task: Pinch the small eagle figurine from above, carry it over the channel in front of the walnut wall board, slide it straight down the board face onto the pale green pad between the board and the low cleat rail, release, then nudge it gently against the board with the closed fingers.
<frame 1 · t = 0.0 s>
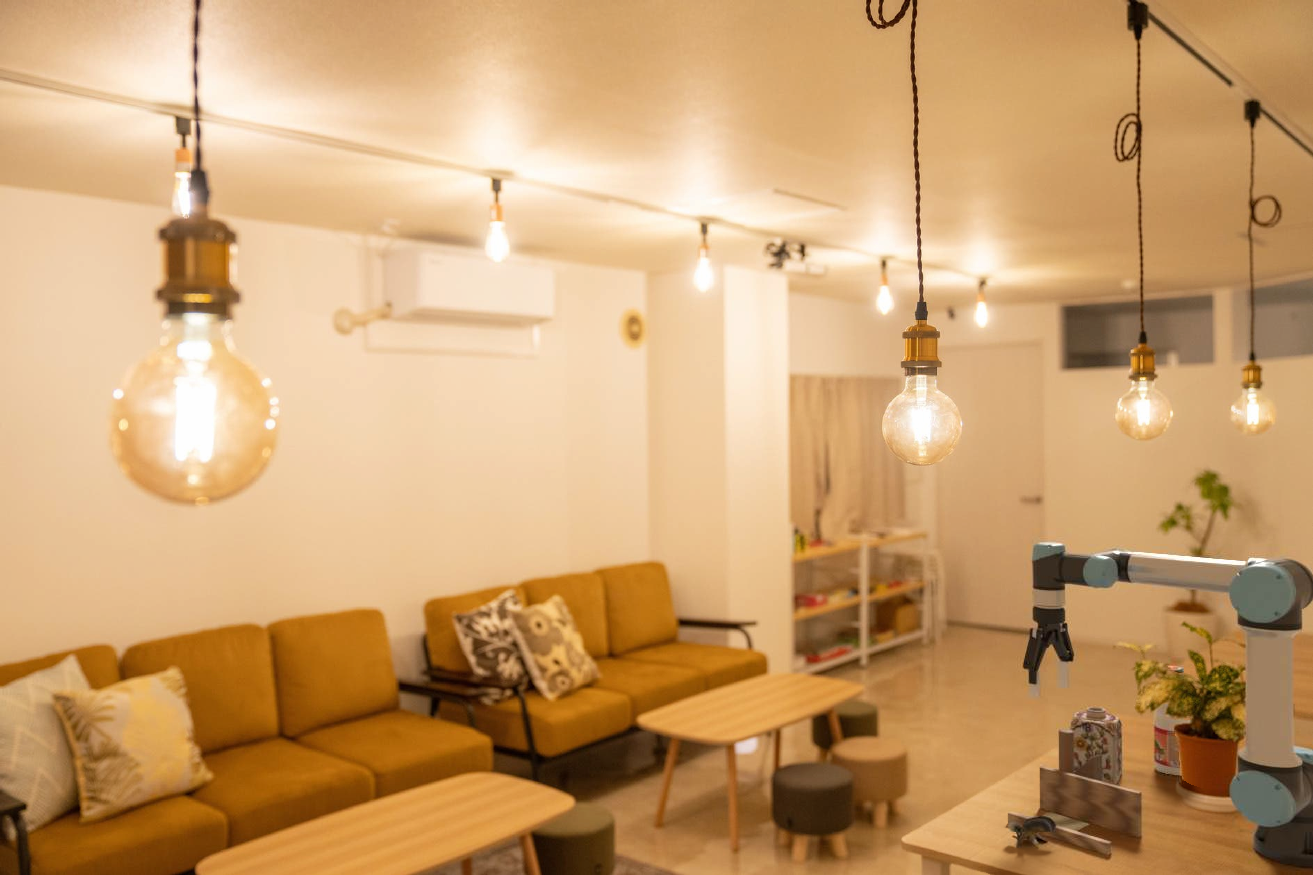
hand: (1049, 692, 252), 28 cm above the table, tool pointing down, fingers open, 13 cm apart
wooden block: (1078, 808, 251), on the table
wall board: (1074, 828, 237), on the table
decorative jar: (1096, 776, 273), on the table
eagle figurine: (1031, 845, 229), on the table
fruit juice: (1173, 771, 276), on the table
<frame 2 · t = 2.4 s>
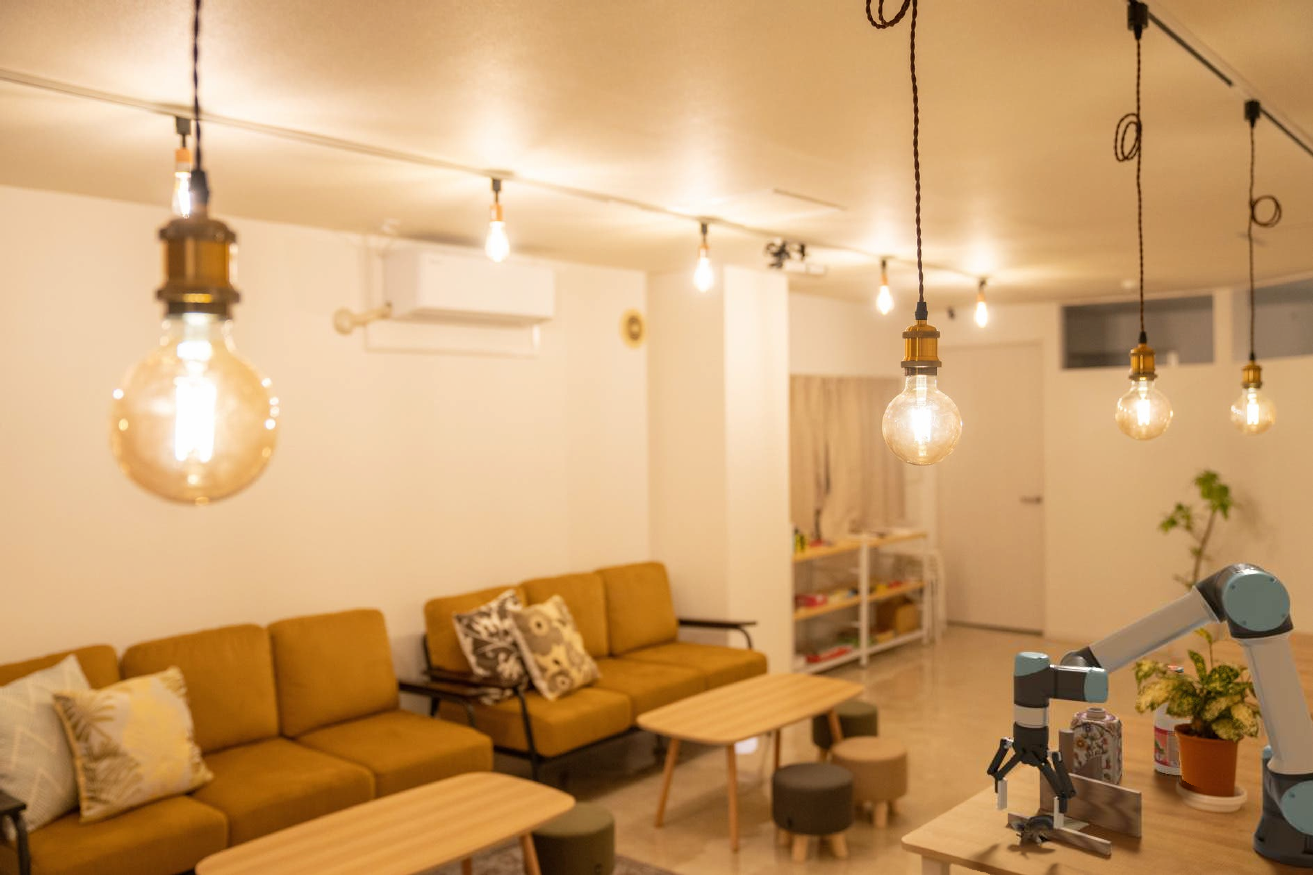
hand: (1029, 817, 229), 6 cm above the table, tool pointing down, fingers open, 13 cm apart
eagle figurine: (1035, 843, 230), on the table
everything else where it was.
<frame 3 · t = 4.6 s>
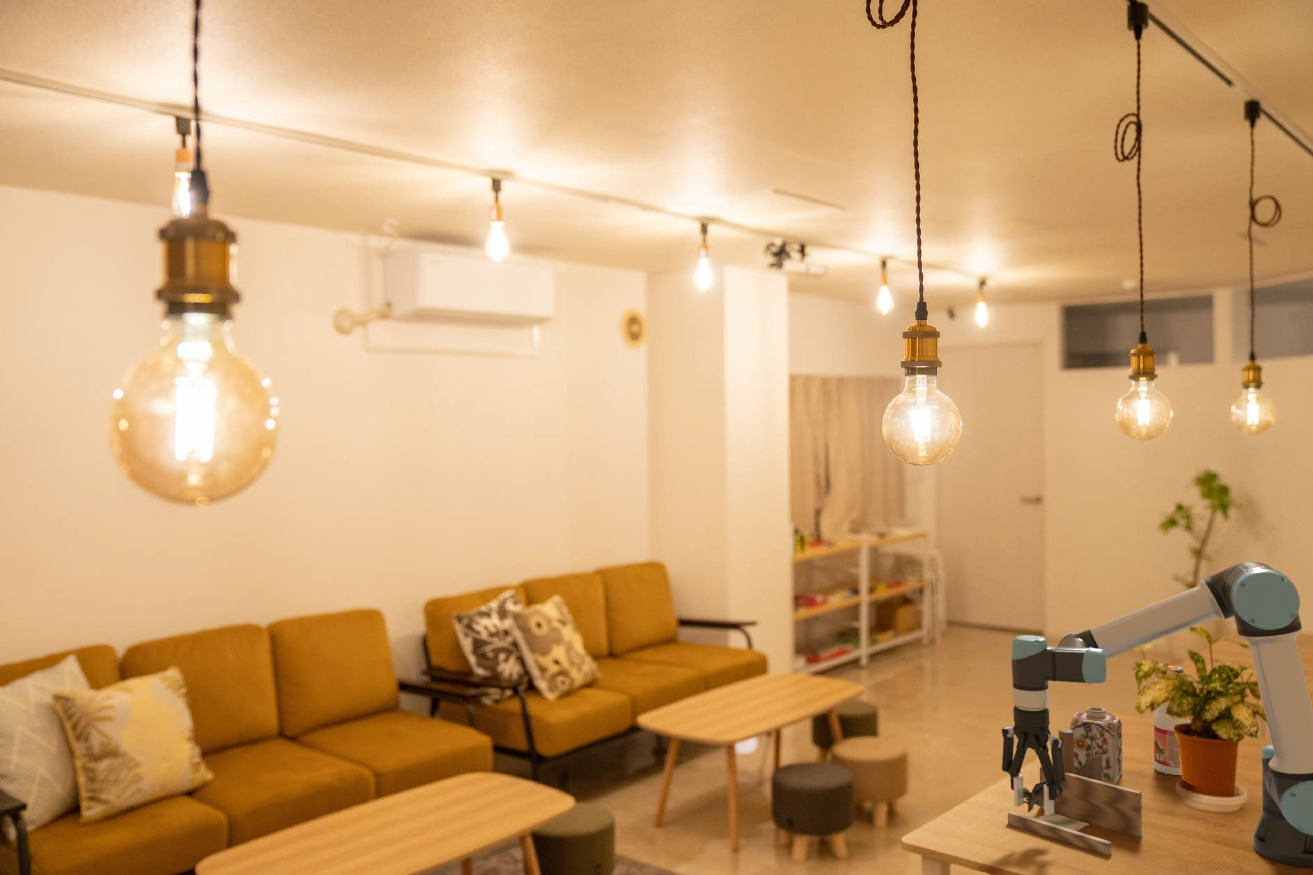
hand: (1034, 809, 229), 8 cm above the table, tool pointing down, fingers closed on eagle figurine, 6 cm apart
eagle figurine: (1040, 811, 229), point 7 cm above the table, touching gripper
everything else where it was.
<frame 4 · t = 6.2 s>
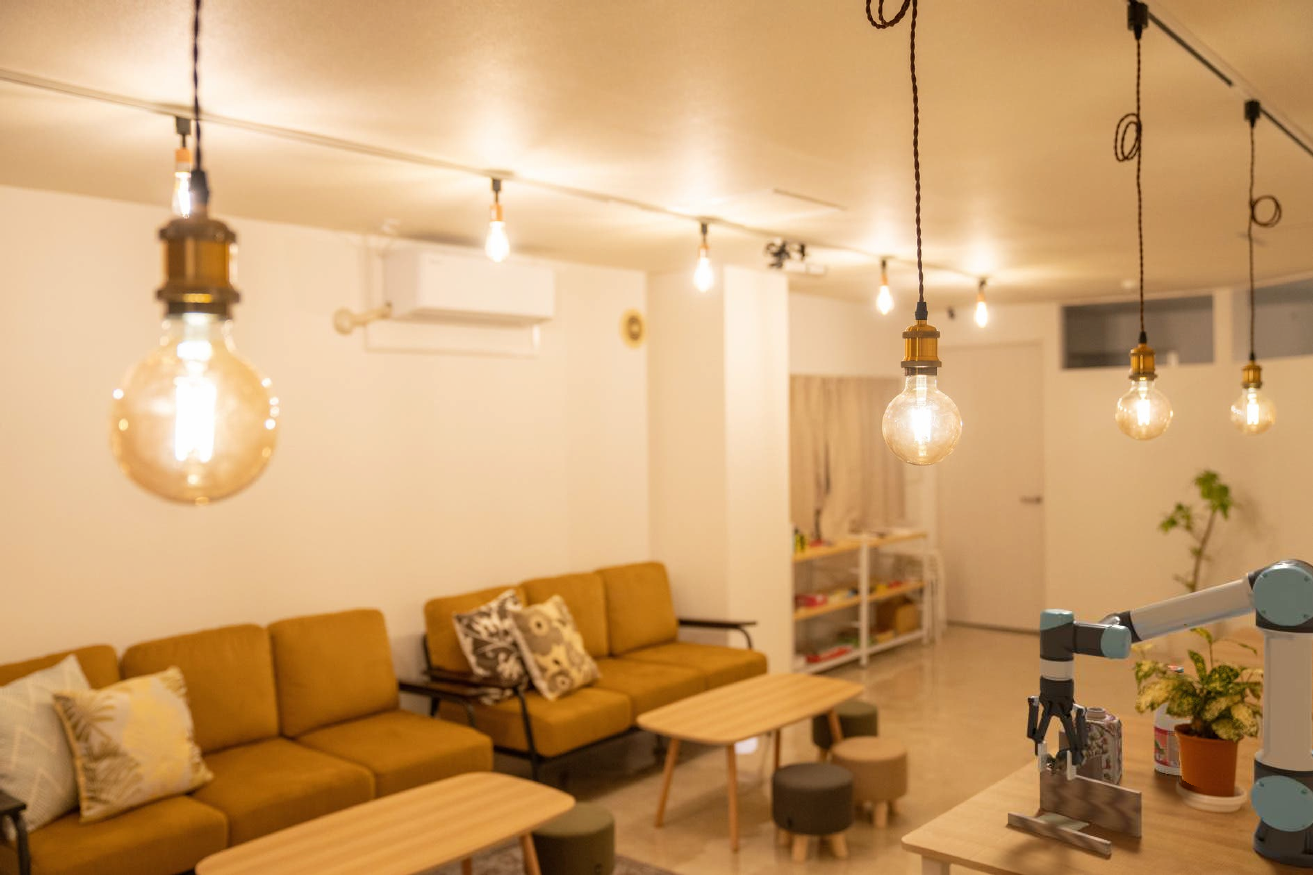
hand: (1056, 774, 240), 12 cm above the table, tool pointing down, fingers closed on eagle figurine, 6 cm apart
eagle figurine: (1062, 776, 241), point 11 cm above the table, touching gripper
everything else where it was.
when the fingers open (1 cm above the table, at t = 8.0 s): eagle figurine moves 2 cm, resting on wall board.
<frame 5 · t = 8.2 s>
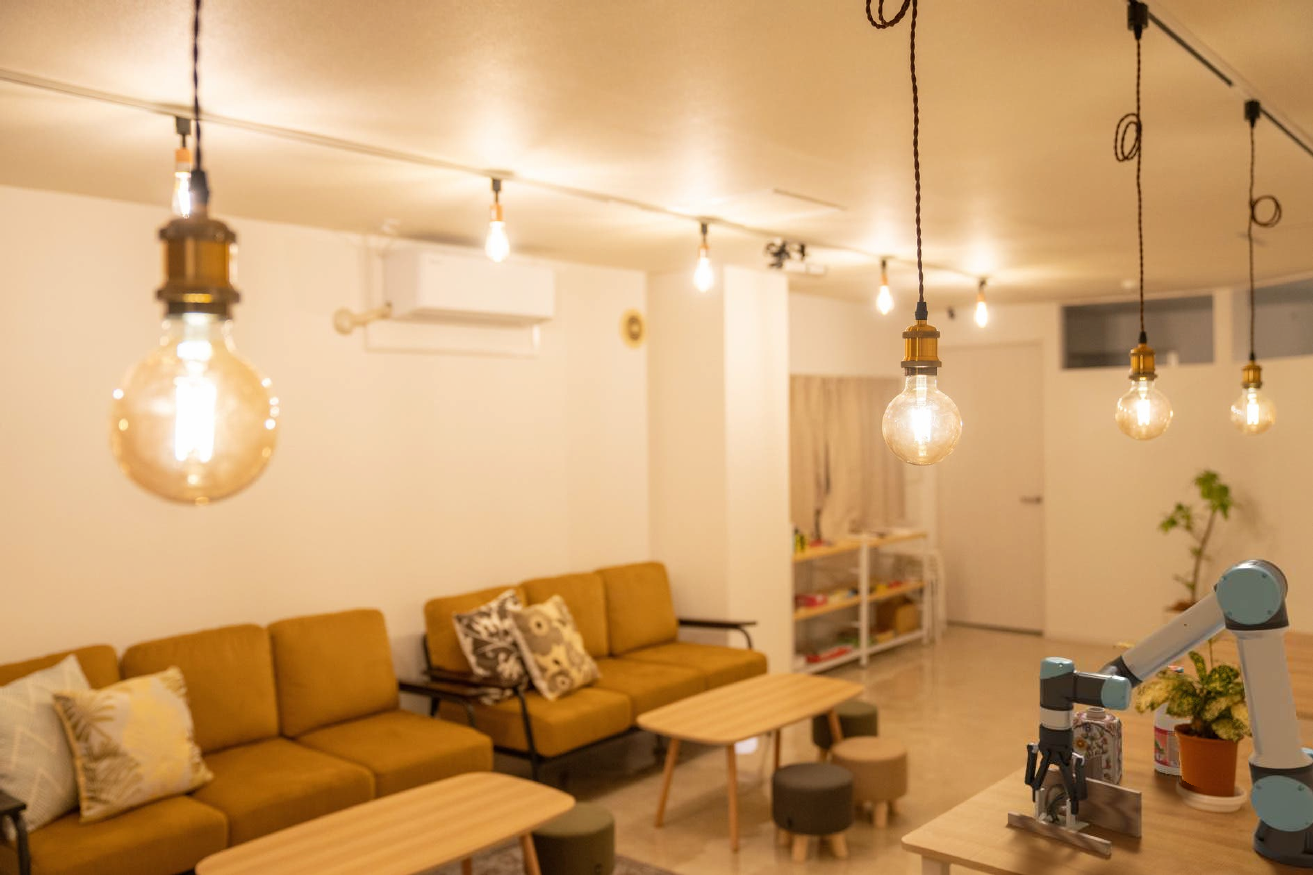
hand: (1054, 821, 240), 0 cm above the table, tool pointing down, fingers open, 7 cm apart
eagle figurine: (1062, 804, 241), point 4 cm above the table, touching wall board
everything else where it was.
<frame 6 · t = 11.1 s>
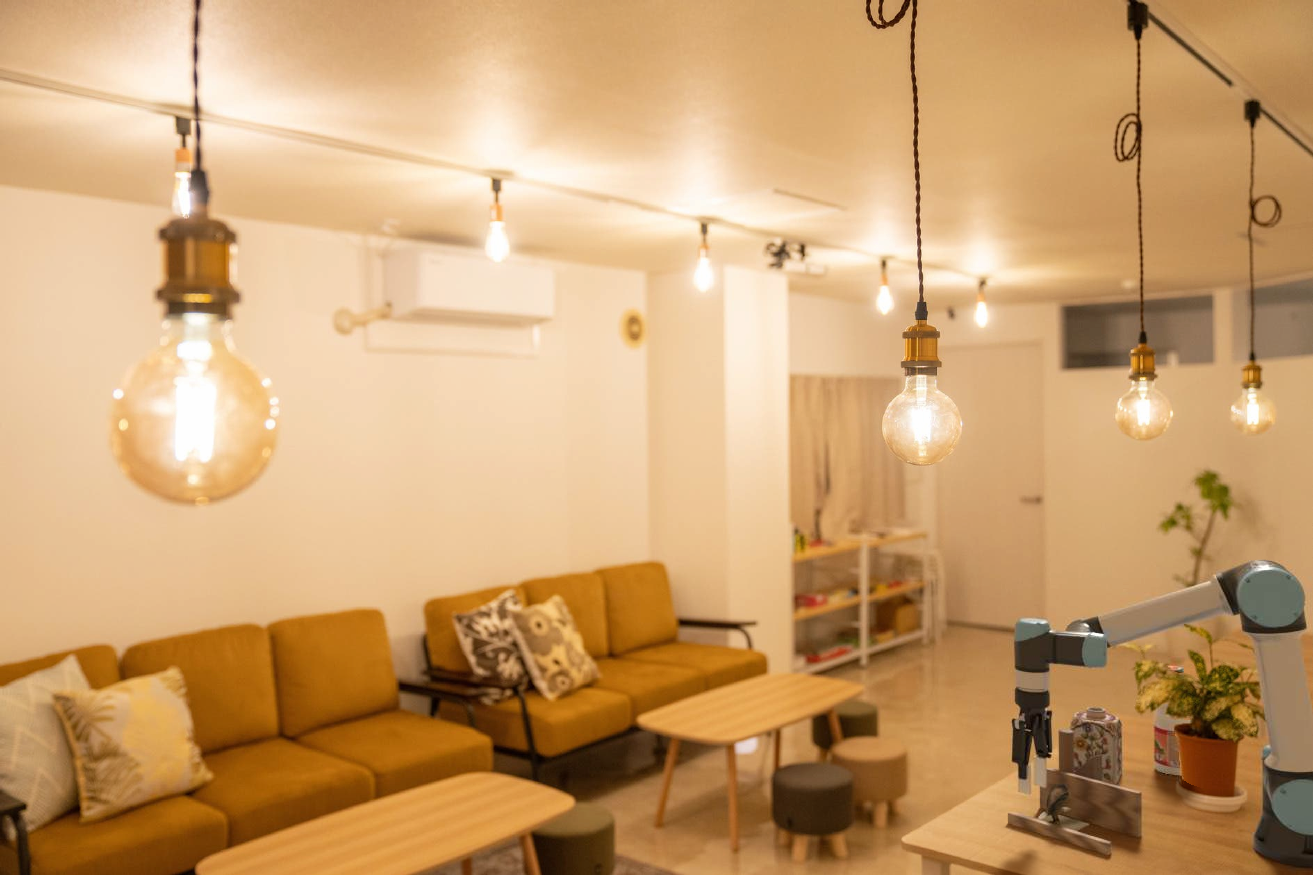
hand: (1032, 788, 233), 11 cm above the table, tool pointing down, fingers open, 6 cm apart
nothing on the table moved.
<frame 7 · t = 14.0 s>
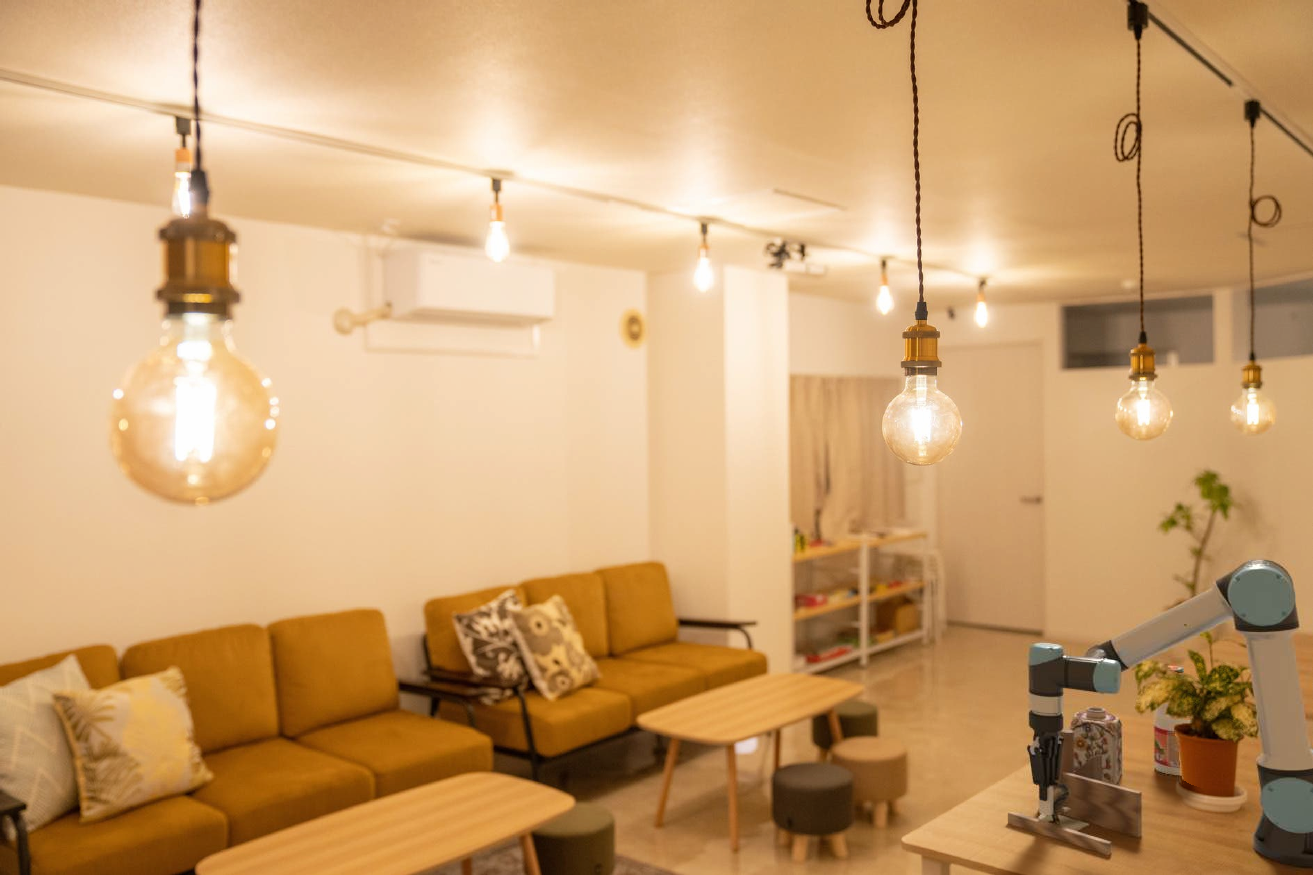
hand: (1046, 813, 237), 4 cm above the table, tool pointing down, fingers closed
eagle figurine: (1063, 805, 241), point 4 cm above the table, touching gripper, wall board
everything else where it was.
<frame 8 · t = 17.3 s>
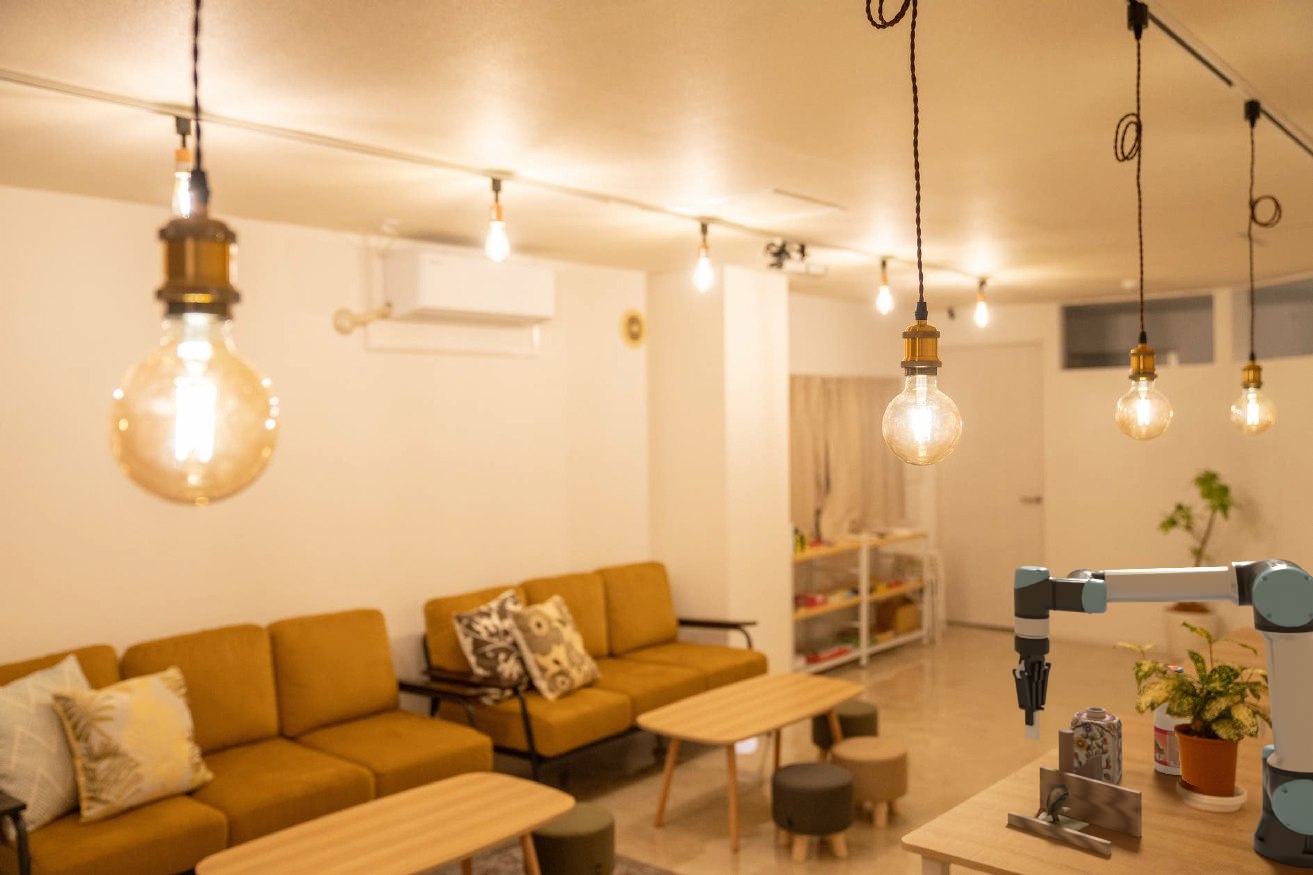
hand: (1032, 738, 233), 22 cm above the table, tool pointing down, fingers closed
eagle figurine: (1063, 805, 241), point 4 cm above the table, touching wall board
everything else where it was.
at the end: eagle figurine inside the target area (2.0 cm from its centre), point 4.1 cm above the table; the gripper is holding nothing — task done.
